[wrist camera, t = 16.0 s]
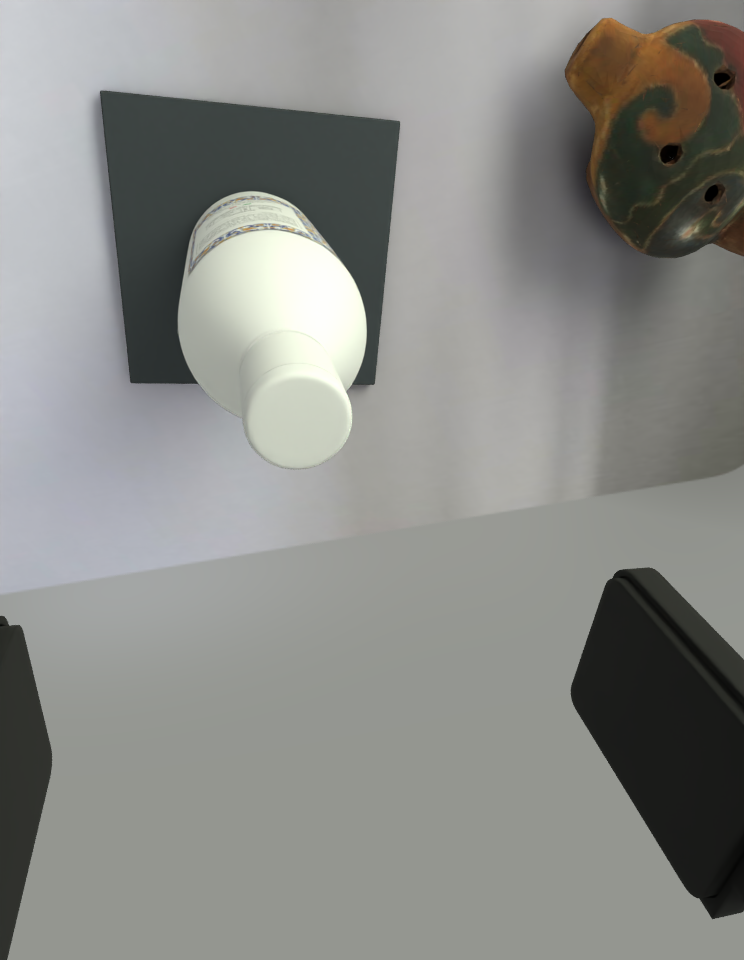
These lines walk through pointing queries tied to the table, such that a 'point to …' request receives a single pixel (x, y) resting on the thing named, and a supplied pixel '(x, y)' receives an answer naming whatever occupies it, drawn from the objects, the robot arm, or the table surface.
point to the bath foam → (272, 327)
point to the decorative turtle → (666, 133)
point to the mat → (229, 170)
